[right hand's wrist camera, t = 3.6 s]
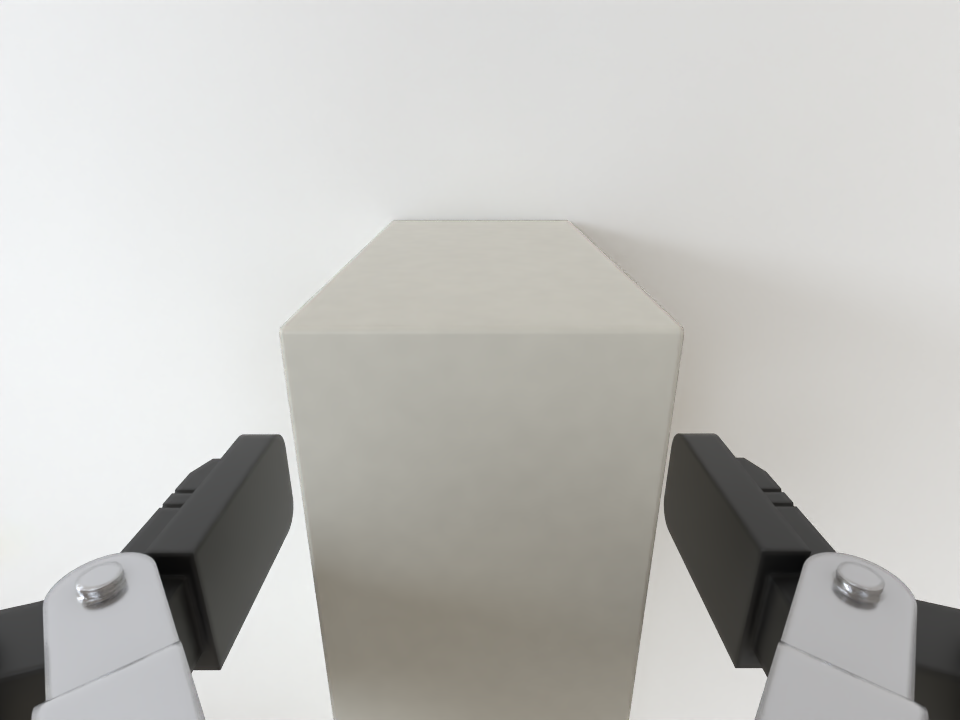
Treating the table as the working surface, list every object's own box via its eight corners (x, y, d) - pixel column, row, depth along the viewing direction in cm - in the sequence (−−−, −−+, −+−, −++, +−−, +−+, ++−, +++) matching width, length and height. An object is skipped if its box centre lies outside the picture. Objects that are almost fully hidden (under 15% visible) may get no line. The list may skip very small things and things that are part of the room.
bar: (391, 219, 15) (275, 326, 7) (570, 219, 15) (688, 327, 7) (423, 776, 24) (391, 1138, 15) (537, 776, 24) (570, 1138, 15)
